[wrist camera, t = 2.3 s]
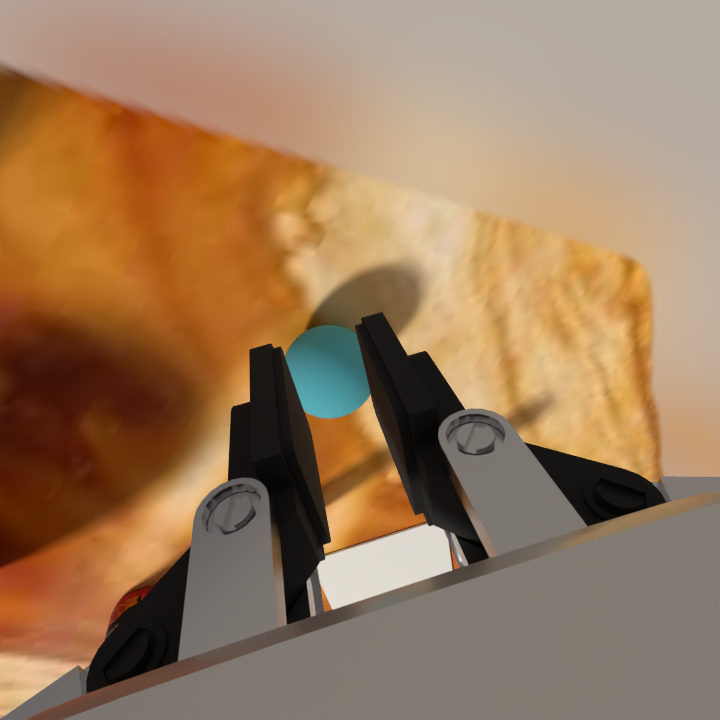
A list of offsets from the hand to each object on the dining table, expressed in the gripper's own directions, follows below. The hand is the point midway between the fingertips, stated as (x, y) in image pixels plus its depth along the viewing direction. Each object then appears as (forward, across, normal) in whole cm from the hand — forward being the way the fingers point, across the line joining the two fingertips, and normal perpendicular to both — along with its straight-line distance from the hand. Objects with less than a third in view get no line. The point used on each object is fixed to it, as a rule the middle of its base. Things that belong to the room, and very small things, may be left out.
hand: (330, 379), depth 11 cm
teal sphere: (+14, 0, +10) cm, 17 cm away
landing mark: (+17, 0, +40) cm, 43 cm away
